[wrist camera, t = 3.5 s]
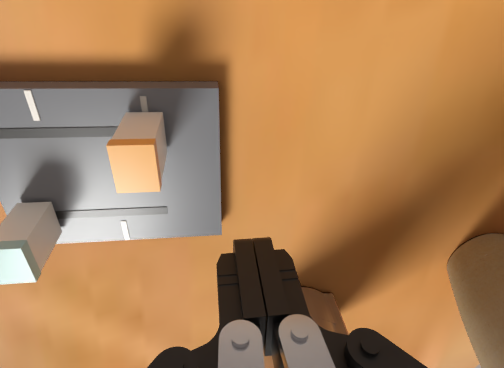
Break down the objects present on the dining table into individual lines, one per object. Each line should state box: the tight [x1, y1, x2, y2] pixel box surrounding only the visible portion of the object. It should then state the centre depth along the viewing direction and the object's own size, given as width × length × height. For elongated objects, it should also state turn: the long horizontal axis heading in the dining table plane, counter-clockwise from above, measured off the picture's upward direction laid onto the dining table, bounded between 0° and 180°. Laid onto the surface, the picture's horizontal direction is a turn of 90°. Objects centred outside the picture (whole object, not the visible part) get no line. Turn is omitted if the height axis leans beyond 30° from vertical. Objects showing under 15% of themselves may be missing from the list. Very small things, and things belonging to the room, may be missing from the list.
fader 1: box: [0, 202, 62, 284], centre depth 24 cm, size 2×3×5 cm
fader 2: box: [106, 112, 167, 193], centre depth 21 cm, size 2×3×5 cm
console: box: [0, 81, 222, 244], centre depth 26 cm, size 16×13×2 cm
